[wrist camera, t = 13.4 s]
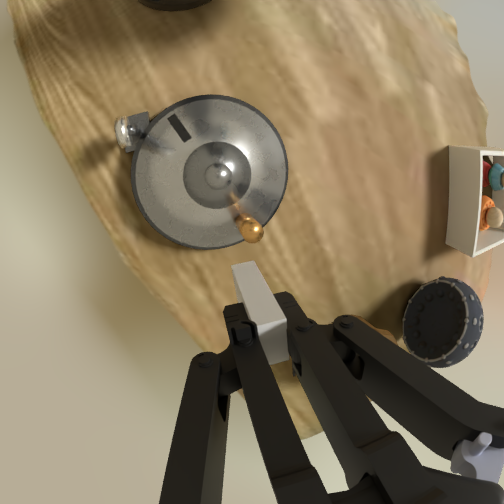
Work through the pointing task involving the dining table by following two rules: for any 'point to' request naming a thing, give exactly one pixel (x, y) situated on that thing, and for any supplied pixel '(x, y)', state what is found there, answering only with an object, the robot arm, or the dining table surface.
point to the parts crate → (471, 200)
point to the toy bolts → (490, 213)
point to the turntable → (172, 165)
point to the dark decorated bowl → (442, 322)
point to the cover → (216, 175)
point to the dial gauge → (131, 130)
